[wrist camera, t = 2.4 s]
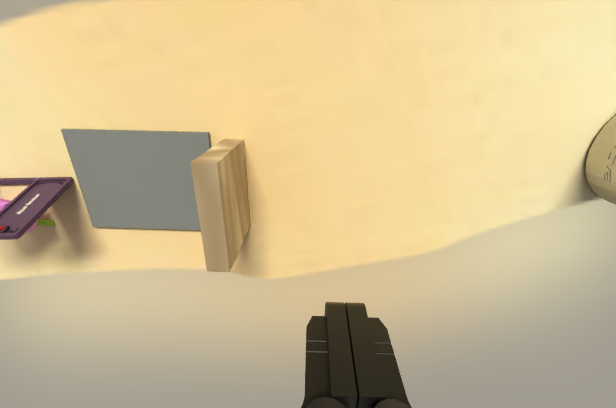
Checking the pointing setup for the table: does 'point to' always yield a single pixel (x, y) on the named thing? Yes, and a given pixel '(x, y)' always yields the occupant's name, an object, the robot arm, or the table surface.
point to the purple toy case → (29, 204)
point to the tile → (222, 202)
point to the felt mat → (137, 176)
